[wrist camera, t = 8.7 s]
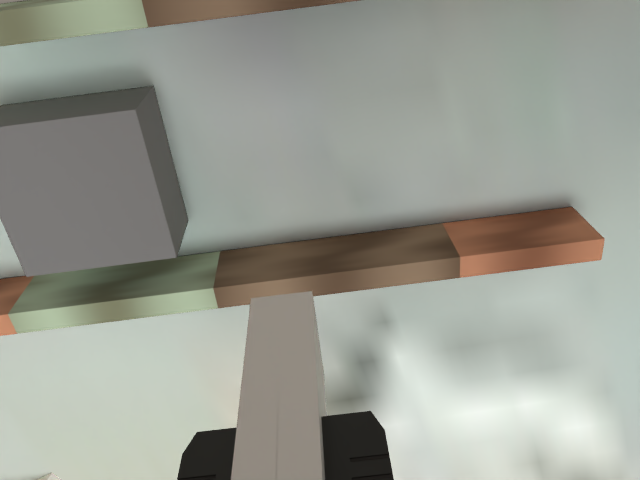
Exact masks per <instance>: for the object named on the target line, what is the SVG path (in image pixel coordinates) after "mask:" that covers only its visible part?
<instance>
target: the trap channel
mask: <svg viewBox="0 0 640 480" xmlns="http://www.w3.org/2000/svg"><path fill="white" fill-rule="evenodd" d="M351 1H359V0H27V1H19V2H12V3H4V4H0V46H7V45H14V44H22V43H30V42H38V41H46V40H54V39H61V38H69V37H77V36H85V35H93V34H101V33H108V32H116V31H124V30H132V29H140V28H148V27H155V26H163V25H171V24H179V23H187V22H195V21H203V20H210V19H218V18H226V17H234V16H242V15H250V14H257V13H265V12H273V11H281V10H289V9H297V8H304V7H312V6H320V5H328V4H336V3H344V2H351ZM603 246H604V238H603V237H602V236H601V235H600V234H599V233H598V232H597V231H596V230H595V229H594V228H593V227H592V226H591V225H590V224H589V223H588V222H587V221H586V220H585V219H584V218H583V217H582V216H581V215H580V214H579V213H578V212H577V211H576V210H575V209H574V208H573V207H566V208H558V209H551V210H543V211H535V212H527V213H519V214H511V215H503V216H495V217H487V218H479V219H472V220H464V221H456V222H448V223H440V224H432V225H424V226H416V227H408V228H400V229H392V230H385V231H377V232H369V233H361V234H353V235H345V236H337V237H329V238H321V239H313V240H305V241H298V242H290V243H282V244H274V245H266V246H258V247H250V248H242V249H234V250H226V251H219V252H211V253H203V254H195V255H187V256H179V257H177V258H171V259H163V260H155V261H147V262H139V263H131V264H124V265H116V266H108V267H100V268H92V269H84V270H77V271H69V272H61V273H53V274H45V275H37V276H30V277H26V276H21V277H13V278H5V279H0V336H2V335H10V334H18V333H26V332H33V331H41V330H49V329H57V328H65V327H73V326H81V325H89V324H97V323H105V322H113V321H121V320H129V319H136V318H144V317H152V316H160V315H168V314H176V313H184V312H192V311H200V310H208V309H216V308H224V307H232V306H239V305H247V304H250V302H251V298H258V297H266V296H275V295H283V294H292V293H300V292H309V291H312V294H313V296H319V295H327V294H335V293H342V292H350V291H358V290H366V289H374V288H382V287H390V286H398V285H406V284H414V283H422V282H430V281H438V280H445V279H453V278H461V277H469V276H477V275H485V274H493V273H501V272H509V271H517V270H525V269H533V268H541V267H548V266H556V265H564V264H572V263H580V262H588V261H596V260H601V258H602V252H603Z"/></svg>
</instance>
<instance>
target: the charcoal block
mask: <svg viewBox="0 0 640 480" xmlns="http://www.w3.org/2000/svg"><path fill="white" fill-rule="evenodd" d="M0 219H1V221H2V223H3V225H4V228H5V230H6V232H7V234H8V237H9V239H10V241H11V243H12V246H13V248H14V250H15V252H16V255H17V257H18V259H19V261H20V264H21V266H22V268H23V270H24V273H25V275H26V277H30V276H37V275H45V274H53V273H61V272H69V271H77V270H84V269H92V268H100V267H108V266H116V265H124V264H131V263H139V262H147V261H155V260H163V259H171V258H177V255H178V252H179V249H180V246H181V242H182V239H183V236H184V233H185V229H186V226H187V223H188V217H187V213H186V209H185V205H184V202H183V198H182V194H181V190H180V186H179V182H178V178H177V174H176V170H175V167H174V163H173V159H172V155H171V151H170V147H169V143H168V139H167V136H166V132H165V128H164V124H163V120H162V116H161V112H160V108H159V104H158V101H157V97H156V93H155V89H154V86H148V87H140V88H132V89H124V90H116V91H109V92H101V93H93V94H85V95H77V96H70V97H62V98H54V99H46V100H38V101H31V102H23V103H15V104H7V105H2V106H0Z"/></svg>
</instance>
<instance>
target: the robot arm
mask: <svg viewBox="0 0 640 480" xmlns="http://www.w3.org/2000/svg"><path fill="white" fill-rule="evenodd" d="M177 479H178V480H394V479H393V474H392V468H391V462H390V458H389V451H388V446H387V441H386V435H385V430H384V429H383V427H382V426H381V425H380V423H379V422H378V420H377V419H376V418H375V416H374V415H373V414H372V412H371V411H367V412H358V413H349V414H340V415H331V416H327V408H326V394H325V379H324V370H323V363H322V356H321V349H320V342H319V335H318V328H317V321H316V314H315V307H314V301H313V294H312V291H309V292H300V293H292V294H283V295H275V296H266V297H258V298H251V302H250V311H249V320H248V329H247V338H246V347H245V356H244V365H243V374H242V383H241V393H240V402H239V411H238V420H237V428H229V429H221V430H212V431H203V432H197V433H196V434H195V436H194V437H193V439H192V440H191V442H190V444H189V445H188V447H187V448H186V450H185V451H184V453H183V454H182V459H181V464H180V468H179V473H178V478H177Z"/></svg>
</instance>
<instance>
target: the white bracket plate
mask: <svg viewBox="0 0 640 480" xmlns="http://www.w3.org/2000/svg"><path fill="white" fill-rule="evenodd" d="M37 480H61V479H60V478H59V477H57V476H56V475H55V474H54V473H50V474H48V475H46V476H43V477H41V478H39V479H37Z"/></svg>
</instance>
